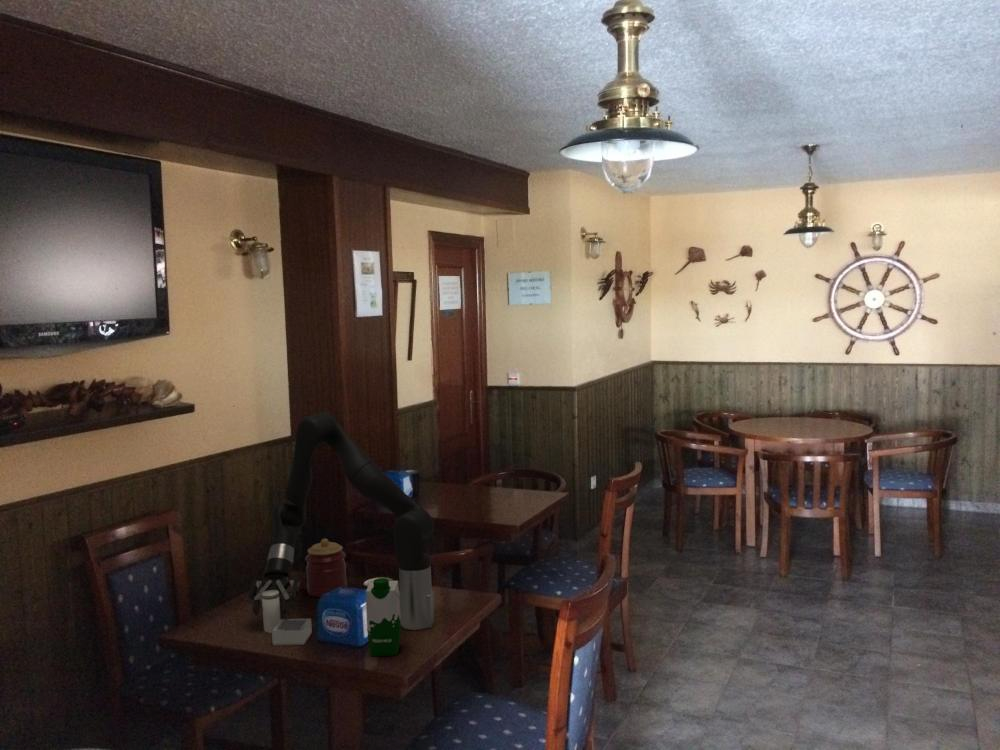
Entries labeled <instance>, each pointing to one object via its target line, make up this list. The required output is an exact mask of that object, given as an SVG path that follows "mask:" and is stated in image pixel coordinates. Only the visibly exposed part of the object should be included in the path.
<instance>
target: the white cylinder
mask: <svg viewBox="0 0 1000 750" xmlns="http://www.w3.org/2000/svg"><path fill="white" fill-rule="evenodd" d="M261 604H262V619H263V632H264V631H265V632H264V633H266V632H267V634H272V630H273V629H274V628H275V627H276V625H277V624H278V623H279V622H280V620H281V619H282V618H281V608H280V607H281V604H280V595H279V591H277V590H268V591H265V592H263V593H262V601H261Z"/></svg>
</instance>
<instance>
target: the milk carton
mask: <svg viewBox="0 0 1000 750" xmlns="http://www.w3.org/2000/svg"><path fill="white" fill-rule="evenodd" d="M365 604H366V605H365V607H366V627H367V628H366V630H367V641H368V646H369V653H370V654H369V655H370V657H385V656H386V657H388V656H390V657H391V656H397V655H398V652H399V649H400V645H401V635H402V625H401V607H400V587H399V580H389V579H388V578H385V577H384V578H383V577H382V578H379V577H378V578H376V579H375V578H374V580H373V581H370V582H369V584H368V585H367V588H366V591H365Z"/></svg>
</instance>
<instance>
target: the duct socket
mask: <svg viewBox="0 0 1000 750" xmlns="http://www.w3.org/2000/svg"><path fill="white" fill-rule="evenodd" d="M280 619H281V620H280V622H279V623H278V624H277V625H276V627H275V628H274V629H273V630H272V633H271V637H272V639H271V640H272V646H303V645H305V643H306V642H307V640H308V639H309V637H310V636H311V635H312V633H313V632H312V631H313V629H312V627H313V626H312V618H280Z"/></svg>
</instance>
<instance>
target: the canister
mask: <svg viewBox="0 0 1000 750" xmlns="http://www.w3.org/2000/svg"><path fill="white" fill-rule="evenodd" d="M343 549H344V547H343V546H342V545H341V544H338V543H337V542H332V541H329V539H328V538H322V539H321V540H320V542H319V543H315V544H312V546H310V547H309V548H308V549H307V553H308V554H307V555H306V556H305V558H304V559H305V562H306V566H305V570H306V584H307V585H306V591H307V594H308V595H309V596H310V595H311V597H313V596H314V597H313V598H320V597H319V596H321V595H322V594H323V593H325V592H327V591H329V590H331V589H333V588H336V587H344V586H347V587H348V581H347V580H348V579H347V562H345V557H346V555H347V554H346V552H344V551H343ZM315 596H316V597H315Z"/></svg>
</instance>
